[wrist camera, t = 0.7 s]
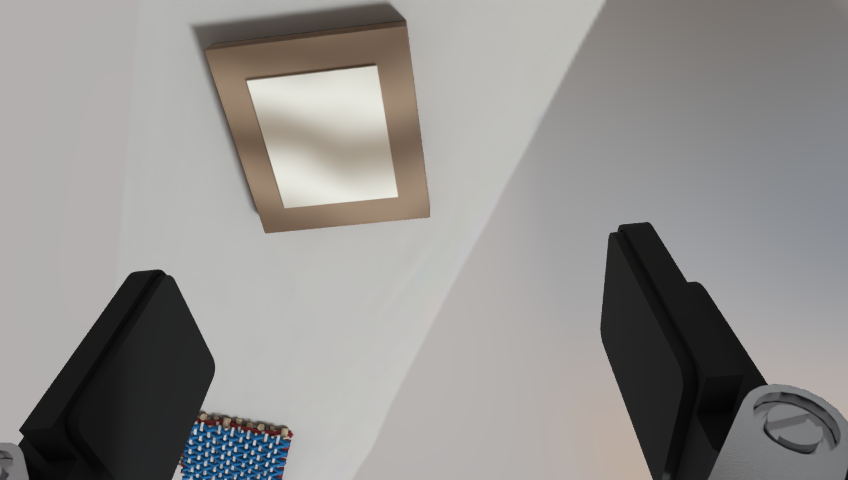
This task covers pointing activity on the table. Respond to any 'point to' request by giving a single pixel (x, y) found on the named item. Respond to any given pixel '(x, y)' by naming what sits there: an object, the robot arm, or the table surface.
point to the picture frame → (326, 125)
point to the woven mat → (234, 451)
